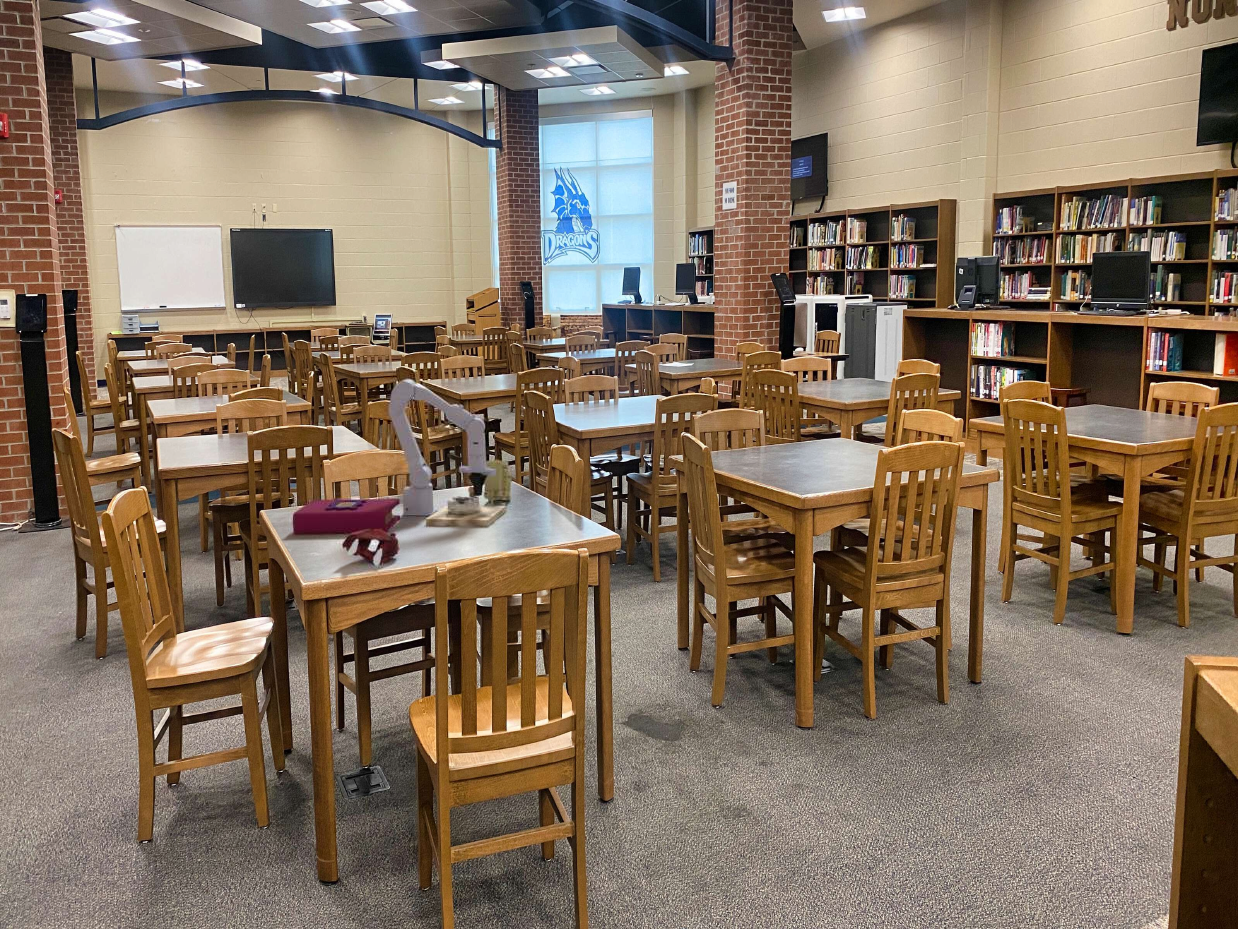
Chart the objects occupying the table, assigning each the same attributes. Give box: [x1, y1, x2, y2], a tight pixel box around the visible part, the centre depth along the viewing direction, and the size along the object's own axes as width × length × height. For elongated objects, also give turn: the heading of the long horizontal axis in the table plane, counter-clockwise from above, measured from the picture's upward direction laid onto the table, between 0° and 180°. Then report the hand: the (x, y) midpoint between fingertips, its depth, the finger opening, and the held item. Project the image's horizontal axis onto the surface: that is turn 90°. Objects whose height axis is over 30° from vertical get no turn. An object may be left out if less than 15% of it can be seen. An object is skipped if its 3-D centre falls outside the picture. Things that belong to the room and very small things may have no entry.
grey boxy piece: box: [446, 485, 480, 515], centre depth 314 cm, size 16×10×6 cm, turn 172°
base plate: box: [425, 504, 507, 527], centre depth 312 cm, size 20×21×2 cm
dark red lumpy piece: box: [341, 529, 400, 567], centre depth 261 cm, size 15×13×9 cm
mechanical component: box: [483, 459, 513, 506], centre depth 336 cm, size 8×17×20 cm, turn 175°
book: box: [292, 497, 401, 535], centre depth 303 cm, size 21×28×8 cm
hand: (478, 495), depth 320 cm, fingers closed
